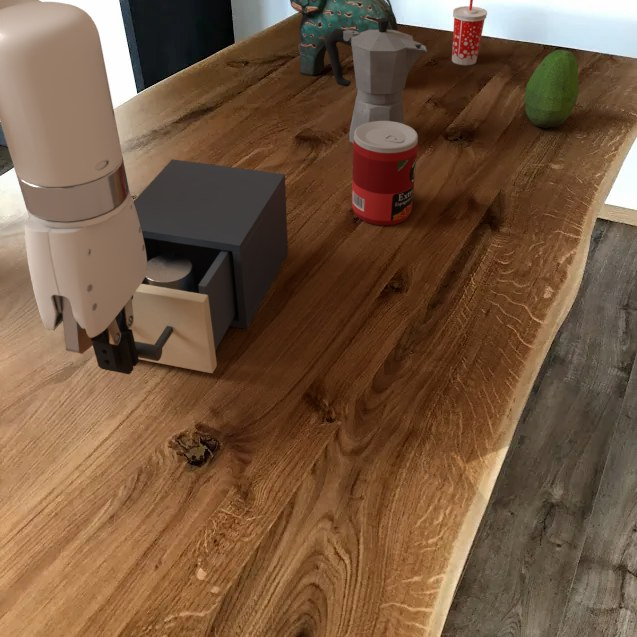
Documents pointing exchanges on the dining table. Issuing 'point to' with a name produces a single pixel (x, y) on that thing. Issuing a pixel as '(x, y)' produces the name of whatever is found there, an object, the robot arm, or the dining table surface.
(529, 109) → the avocado
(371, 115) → the coffeepot
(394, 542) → the dining table surface
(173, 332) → the drawer
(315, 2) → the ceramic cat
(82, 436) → the dining table surface
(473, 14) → the beverage cup
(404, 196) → the canned food
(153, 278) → the cylinder
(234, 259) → the cabinet
